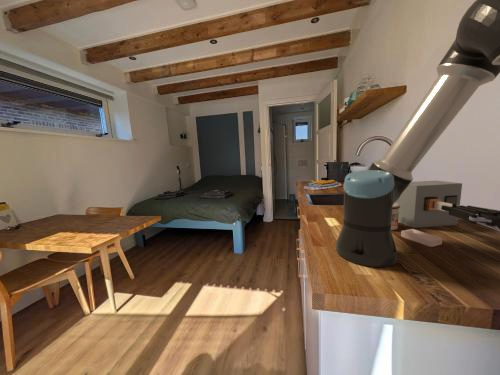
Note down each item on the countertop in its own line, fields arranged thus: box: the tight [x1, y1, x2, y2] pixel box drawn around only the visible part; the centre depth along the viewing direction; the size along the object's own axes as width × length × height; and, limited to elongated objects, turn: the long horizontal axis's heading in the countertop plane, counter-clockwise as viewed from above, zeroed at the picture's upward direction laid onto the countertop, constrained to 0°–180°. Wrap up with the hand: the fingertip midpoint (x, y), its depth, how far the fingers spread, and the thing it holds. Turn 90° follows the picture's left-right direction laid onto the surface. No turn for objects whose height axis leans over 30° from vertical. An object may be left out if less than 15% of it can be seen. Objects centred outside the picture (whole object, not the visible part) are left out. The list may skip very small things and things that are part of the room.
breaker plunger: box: [424, 197, 440, 210], centre depth 78 cm, size 4×10×4 cm, turn 4°
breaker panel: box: [395, 180, 463, 229], centre depth 79 cm, size 18×10×16 cm, turn 94°
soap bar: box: [400, 228, 443, 248], centre depth 65 cm, size 5×9×2 cm, turn 16°
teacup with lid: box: [391, 203, 400, 231], centre depth 78 cm, size 12×9×12 cm
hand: (436, 204), depth 72 cm, fingers closed
